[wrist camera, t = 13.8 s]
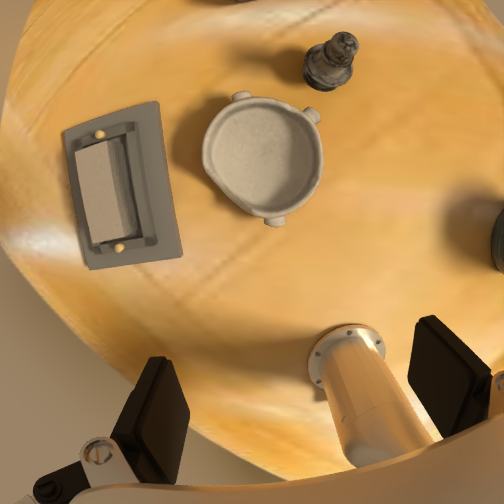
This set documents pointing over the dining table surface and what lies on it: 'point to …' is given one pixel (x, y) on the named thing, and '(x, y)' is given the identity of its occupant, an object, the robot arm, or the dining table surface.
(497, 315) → the dining table surface
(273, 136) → the dish
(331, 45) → the dark grey chess piece
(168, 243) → the switch frame
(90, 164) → the aluminium bar
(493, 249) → the canister
